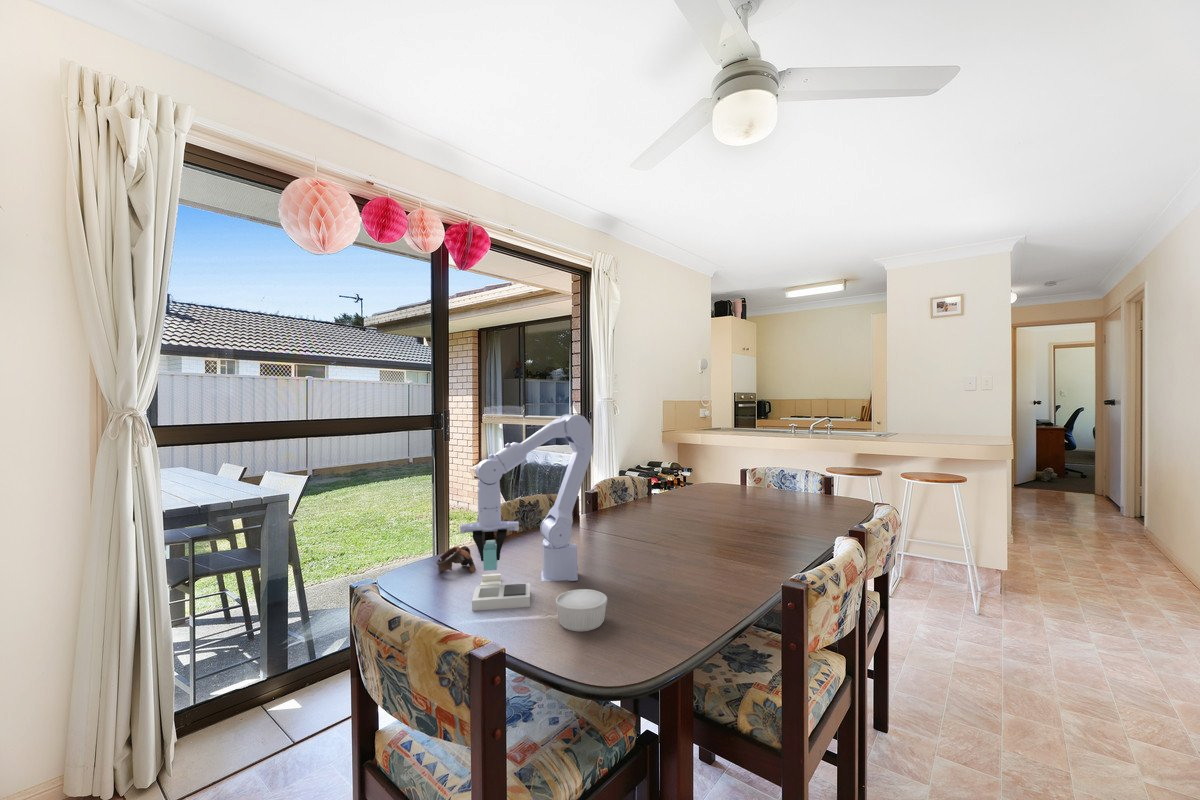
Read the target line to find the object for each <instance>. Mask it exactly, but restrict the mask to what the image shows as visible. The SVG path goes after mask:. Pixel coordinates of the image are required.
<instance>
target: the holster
mask: <svg viewBox="0 0 1200 800" xmlns="http://www.w3.org/2000/svg"><path fill="white" fill-rule="evenodd" d="M492 585H502V573H491V574H490V573H488V574H486V573H485V574H481V583H479V586H492Z"/></svg>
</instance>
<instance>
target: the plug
mask: <svg viewBox="0 0 1200 800" xmlns="http://www.w3.org/2000/svg"><path fill="white" fill-rule="evenodd" d="M498 561H499V560H497V540H496V539H488V540H485V541H484V549H483V561H482V562H483V572H484V571H497V569H498V565H499V564H498V563H499V562H498Z"/></svg>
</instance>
